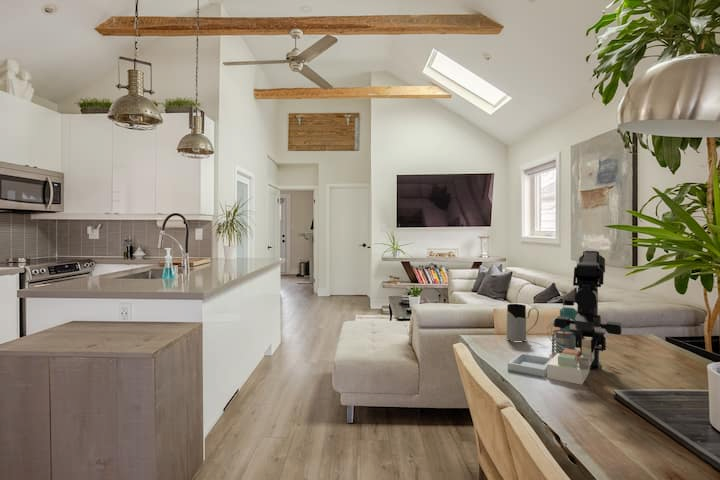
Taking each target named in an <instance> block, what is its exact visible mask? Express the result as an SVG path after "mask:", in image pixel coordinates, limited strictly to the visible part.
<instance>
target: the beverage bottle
mask: <svg viewBox="0 0 720 480" xmlns="http://www.w3.org/2000/svg"><path fill="white" fill-rule="evenodd" d="M562 305H564V317H570V319H572V320H574V321H575V318H576V314H577V309H576V308H574V307H573V306H574V305H575V299H571V298H570V299H569V298H563V299H562ZM566 306H567V307H566ZM568 306H571V307H568ZM559 316H562V317H563V307H561V308H560V309H559ZM569 329H570V326H568V325H567V326H566V327H565V328H564V330H566V331H569ZM558 330H563V328H559V329H558ZM572 336H574V337H575V348H576V336H575V334H574V335H572ZM563 339H571V338H569V337H564V338H563ZM563 346H567V344H566V345H563Z"/></svg>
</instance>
